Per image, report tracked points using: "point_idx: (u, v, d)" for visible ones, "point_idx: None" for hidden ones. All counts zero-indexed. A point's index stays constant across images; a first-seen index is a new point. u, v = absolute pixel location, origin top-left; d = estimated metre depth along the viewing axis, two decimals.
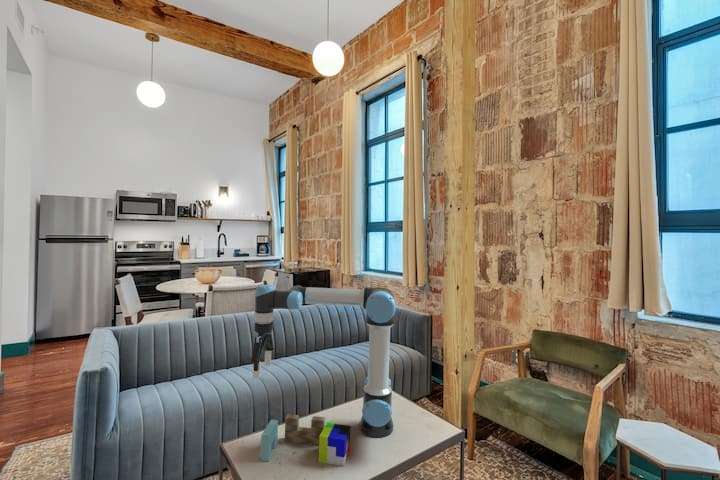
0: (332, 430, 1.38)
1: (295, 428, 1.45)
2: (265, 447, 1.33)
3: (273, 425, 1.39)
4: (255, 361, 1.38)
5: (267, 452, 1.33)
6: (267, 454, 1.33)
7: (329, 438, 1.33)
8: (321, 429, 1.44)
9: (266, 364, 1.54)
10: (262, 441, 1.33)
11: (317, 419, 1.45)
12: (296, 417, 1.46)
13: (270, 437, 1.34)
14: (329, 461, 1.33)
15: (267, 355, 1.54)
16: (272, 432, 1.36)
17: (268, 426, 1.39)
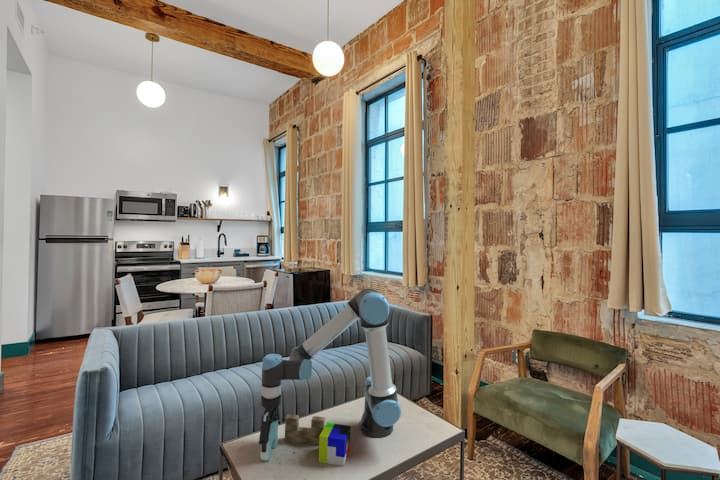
0: (332, 430, 1.38)
1: (295, 428, 1.45)
2: None
3: (273, 425, 1.39)
4: (263, 443, 1.29)
5: None
6: None
7: (329, 438, 1.33)
8: (321, 429, 1.44)
9: None
10: None
11: (317, 419, 1.45)
12: (296, 417, 1.46)
13: (270, 437, 1.34)
14: (329, 461, 1.33)
15: None
16: (272, 432, 1.36)
17: None
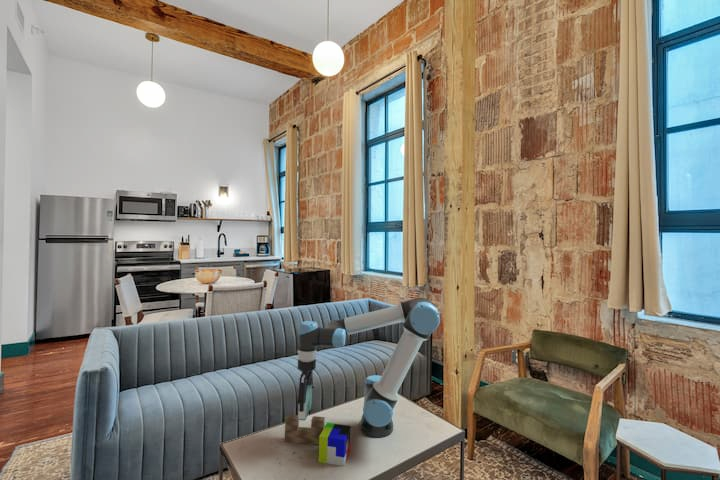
0: (332, 430, 1.38)
1: (295, 428, 1.45)
2: None
3: (308, 388, 1.47)
4: (301, 402, 1.37)
5: None
6: None
7: (329, 438, 1.33)
8: (321, 429, 1.44)
9: None
10: None
11: (317, 419, 1.45)
12: (296, 417, 1.46)
13: (306, 398, 1.42)
14: (329, 461, 1.33)
15: None
16: (308, 394, 1.44)
17: None
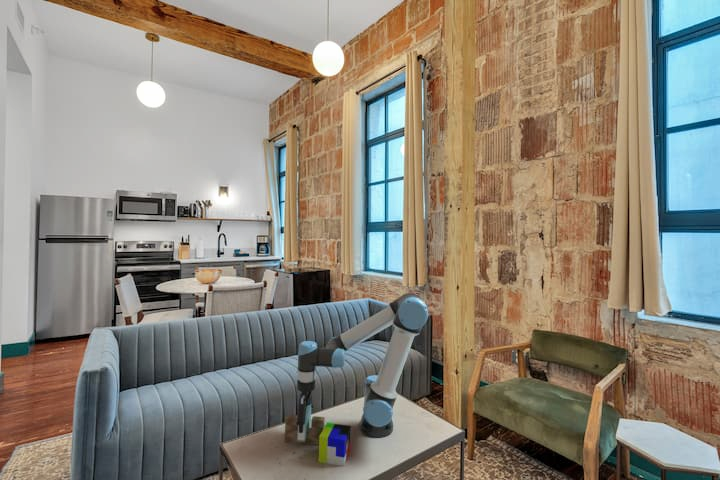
0: (332, 430, 1.38)
1: (295, 428, 1.45)
2: None
3: (307, 408, 1.48)
4: (301, 424, 1.37)
5: None
6: None
7: (329, 438, 1.33)
8: (321, 429, 1.44)
9: None
10: None
11: (317, 419, 1.45)
12: (296, 417, 1.46)
13: (306, 419, 1.42)
14: (329, 461, 1.33)
15: None
16: (307, 414, 1.45)
17: None
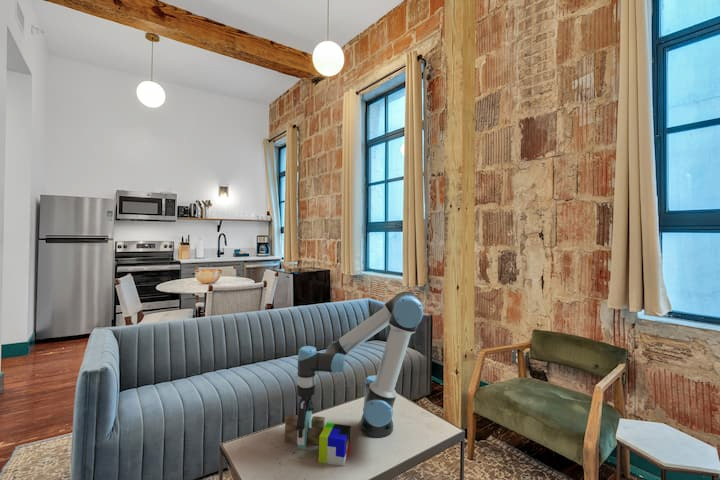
0: (332, 430, 1.38)
1: (295, 428, 1.45)
2: None
3: (307, 415, 1.48)
4: (300, 429, 1.36)
5: None
6: (304, 442, 1.41)
7: (329, 438, 1.33)
8: (321, 429, 1.44)
9: None
10: None
11: (317, 419, 1.45)
12: (296, 417, 1.46)
13: (306, 426, 1.42)
14: (329, 461, 1.33)
15: None
16: (307, 422, 1.45)
17: None
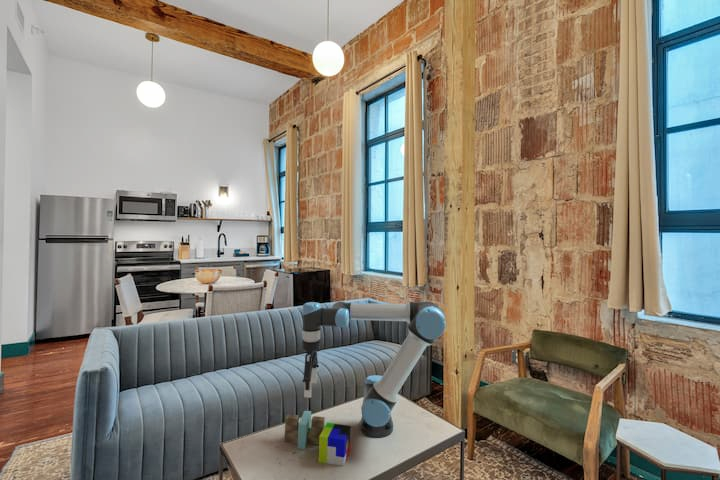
0: (332, 430, 1.38)
1: (295, 428, 1.45)
2: (302, 436, 1.41)
3: (307, 415, 1.48)
4: (307, 380, 1.37)
5: (303, 440, 1.41)
6: (304, 442, 1.41)
7: (329, 438, 1.33)
8: (321, 429, 1.44)
9: (312, 381, 1.54)
10: (299, 430, 1.41)
11: (317, 419, 1.45)
12: (296, 417, 1.46)
13: (306, 426, 1.42)
14: (329, 461, 1.33)
15: (313, 372, 1.54)
16: (307, 422, 1.45)
17: (303, 416, 1.47)
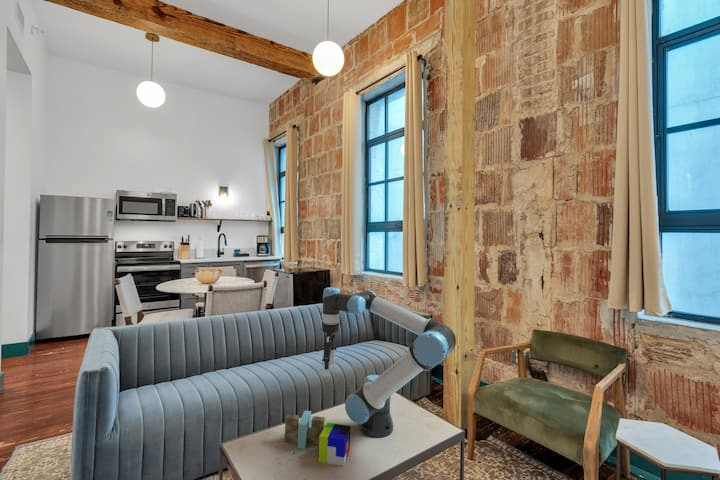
0: (332, 430, 1.38)
1: (295, 428, 1.45)
2: (302, 436, 1.41)
3: (307, 415, 1.48)
4: (327, 360, 1.45)
5: (303, 440, 1.41)
6: (304, 442, 1.41)
7: (329, 438, 1.33)
8: (321, 429, 1.44)
9: (330, 363, 1.62)
10: (299, 430, 1.41)
11: (317, 419, 1.45)
12: (296, 417, 1.46)
13: (306, 426, 1.42)
14: (329, 461, 1.33)
15: (331, 354, 1.62)
16: (307, 422, 1.45)
17: (303, 416, 1.47)
